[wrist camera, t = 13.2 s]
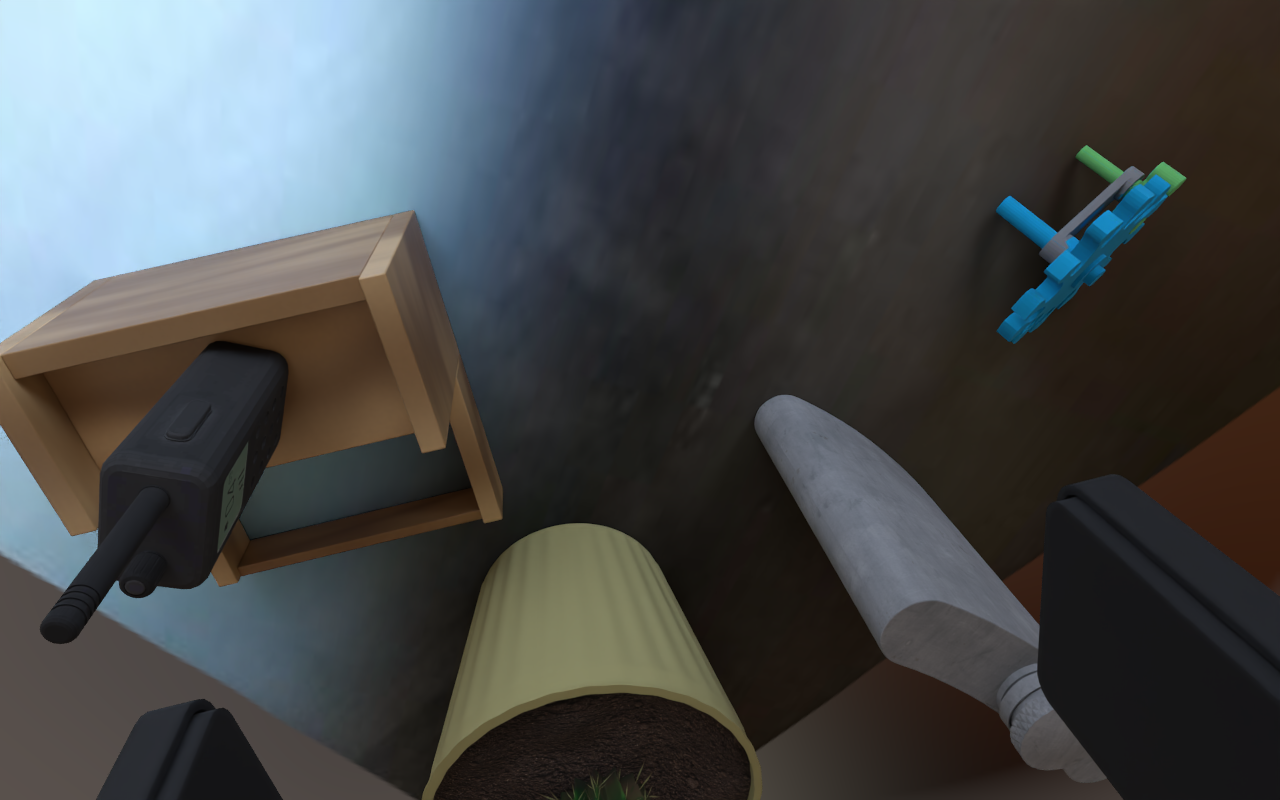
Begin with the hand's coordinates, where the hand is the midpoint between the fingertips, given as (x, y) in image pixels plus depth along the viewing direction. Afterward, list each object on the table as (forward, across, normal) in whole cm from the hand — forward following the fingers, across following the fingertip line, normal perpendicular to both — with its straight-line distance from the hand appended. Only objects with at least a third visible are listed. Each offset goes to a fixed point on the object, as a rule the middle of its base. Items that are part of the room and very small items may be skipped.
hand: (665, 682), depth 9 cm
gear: (+32, -25, +9) cm, 42 cm away
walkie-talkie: (+24, +14, +4) cm, 29 cm away
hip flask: (+32, -14, +21) cm, 41 cm away
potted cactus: (+32, +4, +25) cm, 41 cm away
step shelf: (+32, +14, +8) cm, 36 cm away
